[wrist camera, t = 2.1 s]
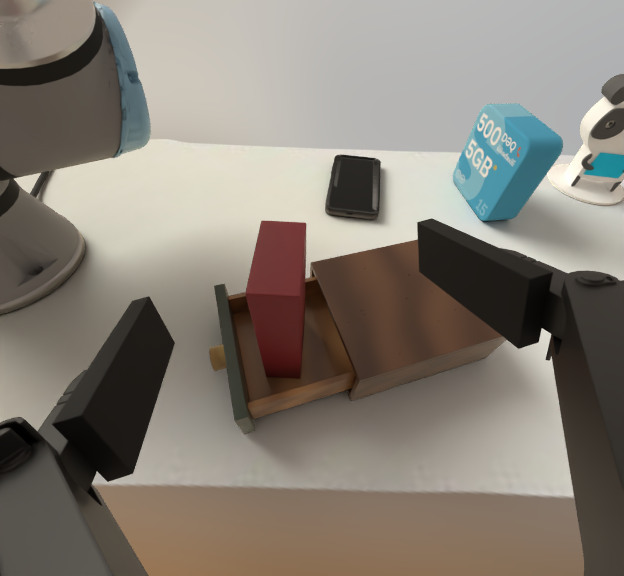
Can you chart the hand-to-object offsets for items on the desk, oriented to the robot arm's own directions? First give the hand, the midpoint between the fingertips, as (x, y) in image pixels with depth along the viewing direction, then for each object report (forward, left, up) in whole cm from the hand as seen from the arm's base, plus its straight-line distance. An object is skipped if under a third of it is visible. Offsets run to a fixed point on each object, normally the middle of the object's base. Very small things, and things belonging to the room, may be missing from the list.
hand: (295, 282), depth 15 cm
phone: (-29, +18, -17) cm, 38 cm away
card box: (-5, 0, -16) cm, 16 cm away
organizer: (-5, +12, -17) cm, 21 cm away
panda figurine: (-20, +56, -17) cm, 61 cm away
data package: (-21, +36, -17) cm, 45 cm away
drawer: (-5, +2, -17) cm, 17 cm away
